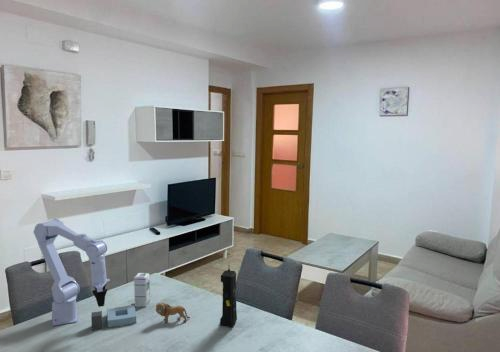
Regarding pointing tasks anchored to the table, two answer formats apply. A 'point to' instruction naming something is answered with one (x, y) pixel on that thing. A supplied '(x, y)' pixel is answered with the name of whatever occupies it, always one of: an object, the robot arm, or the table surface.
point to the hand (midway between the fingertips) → (101, 302)
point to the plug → (96, 320)
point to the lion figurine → (170, 311)
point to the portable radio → (228, 299)
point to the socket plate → (121, 316)
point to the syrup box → (142, 289)
